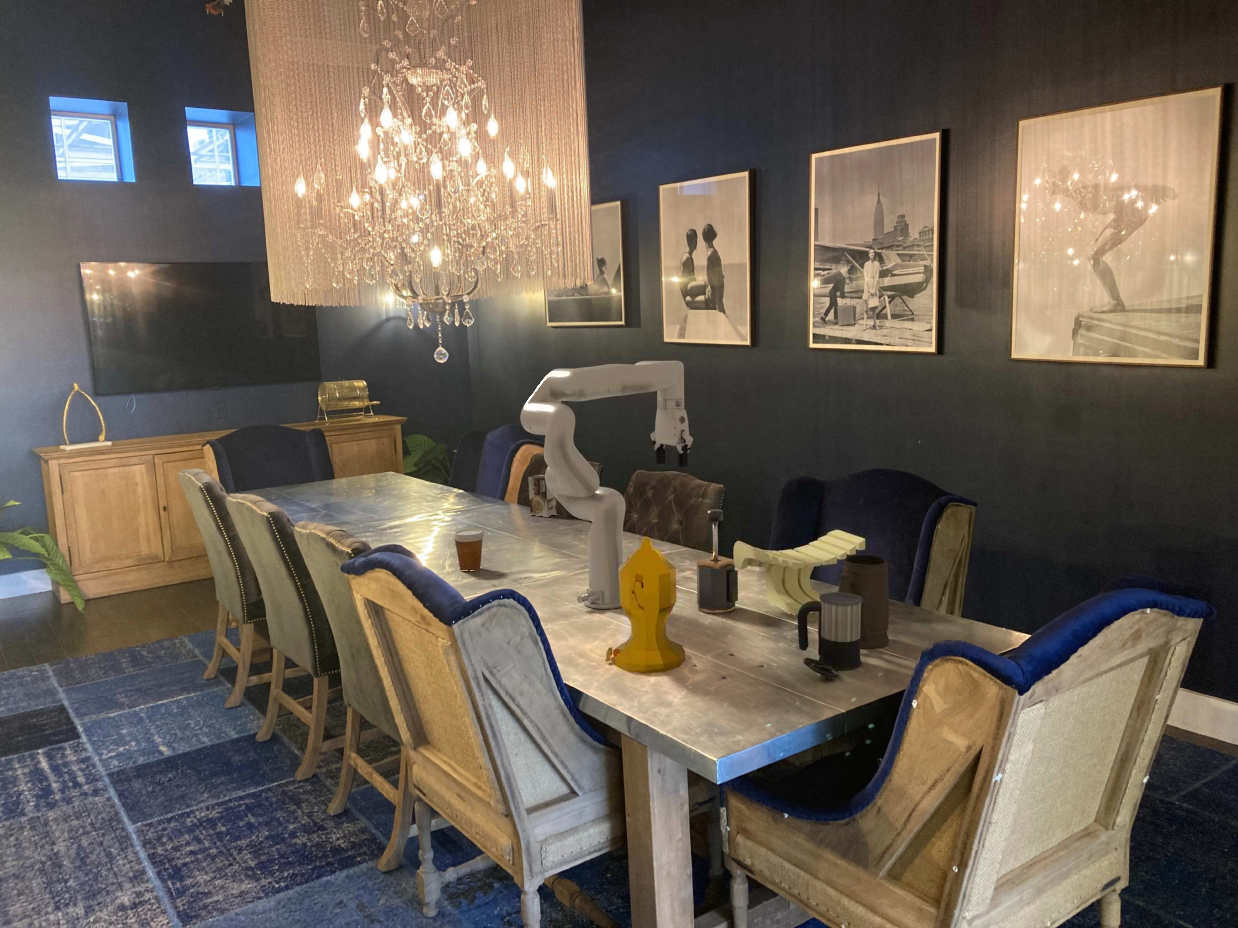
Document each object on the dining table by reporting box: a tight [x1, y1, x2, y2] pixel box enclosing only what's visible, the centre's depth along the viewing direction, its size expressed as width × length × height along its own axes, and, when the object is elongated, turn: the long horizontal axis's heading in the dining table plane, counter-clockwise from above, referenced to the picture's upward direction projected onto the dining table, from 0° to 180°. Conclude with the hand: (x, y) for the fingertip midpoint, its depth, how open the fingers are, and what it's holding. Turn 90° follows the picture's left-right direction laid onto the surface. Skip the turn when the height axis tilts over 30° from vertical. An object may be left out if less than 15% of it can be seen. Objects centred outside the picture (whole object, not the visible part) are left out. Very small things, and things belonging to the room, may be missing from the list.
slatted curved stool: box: [733, 529, 866, 616], centre depth 253 cm, size 30×16×18 cm, turn 110°
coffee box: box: [527, 474, 558, 518], centre depth 385 cm, size 9×6×16 cm
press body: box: [696, 555, 739, 615], centre depth 251 cm, size 10×11×13 cm
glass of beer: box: [452, 528, 485, 571], centre depth 300 cm, size 10×10×12 cm
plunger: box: [703, 508, 727, 568], centre depth 249 cm, size 6×6×15 cm
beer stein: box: [837, 554, 890, 649], centre depth 220 cm, size 15×11×20 cm
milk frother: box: [796, 591, 863, 680], centre depth 205 cm, size 14×16×15 cm
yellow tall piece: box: [604, 536, 687, 674], centre depth 213 cm, size 18×24×28 cm
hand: (671, 465), depth 272 cm, fingers open, 9 cm apart
